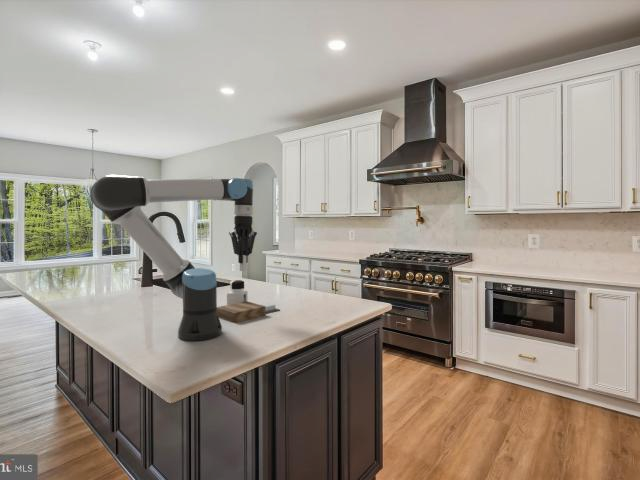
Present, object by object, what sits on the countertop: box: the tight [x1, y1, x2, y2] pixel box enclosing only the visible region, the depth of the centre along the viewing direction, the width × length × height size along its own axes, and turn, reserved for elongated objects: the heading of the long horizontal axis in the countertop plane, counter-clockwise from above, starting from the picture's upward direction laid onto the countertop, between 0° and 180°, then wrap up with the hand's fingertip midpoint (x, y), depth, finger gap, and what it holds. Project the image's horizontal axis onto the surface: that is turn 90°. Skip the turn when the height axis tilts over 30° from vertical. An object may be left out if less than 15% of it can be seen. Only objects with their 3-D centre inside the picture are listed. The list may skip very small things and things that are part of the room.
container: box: [226, 279, 249, 305], centre depth 171 cm, size 8×8×13 cm
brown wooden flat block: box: [217, 301, 266, 324], centre depth 157 cm, size 16×14×4 cm
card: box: [259, 302, 276, 311], centre depth 166 cm, size 9×6×2 cm, turn 137°
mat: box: [266, 307, 281, 314], centre depth 166 cm, size 10×10×1 cm
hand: (242, 270), depth 154 cm, fingers closed
